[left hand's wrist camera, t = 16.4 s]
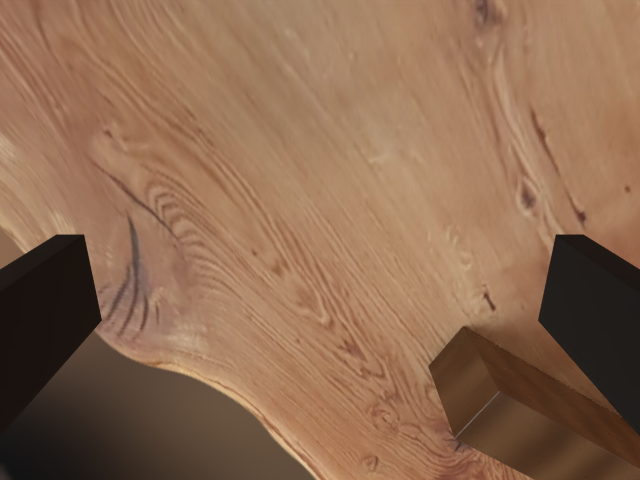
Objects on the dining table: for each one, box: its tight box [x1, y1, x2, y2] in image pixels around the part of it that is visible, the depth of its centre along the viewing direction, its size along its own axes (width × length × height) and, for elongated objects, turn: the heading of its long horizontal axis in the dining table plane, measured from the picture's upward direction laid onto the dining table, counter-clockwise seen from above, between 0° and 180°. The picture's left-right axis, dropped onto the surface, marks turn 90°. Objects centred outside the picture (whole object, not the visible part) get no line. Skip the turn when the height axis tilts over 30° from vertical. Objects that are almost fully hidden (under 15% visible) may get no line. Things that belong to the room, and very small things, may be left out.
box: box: [429, 326, 640, 480], centre depth 46 cm, size 26×6×10 cm, turn 58°
